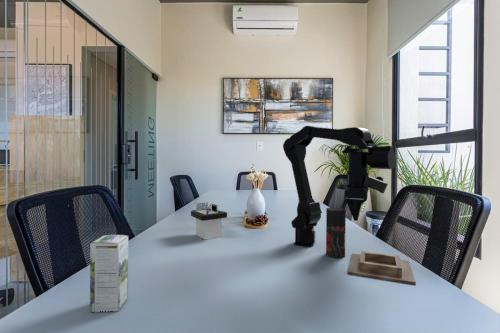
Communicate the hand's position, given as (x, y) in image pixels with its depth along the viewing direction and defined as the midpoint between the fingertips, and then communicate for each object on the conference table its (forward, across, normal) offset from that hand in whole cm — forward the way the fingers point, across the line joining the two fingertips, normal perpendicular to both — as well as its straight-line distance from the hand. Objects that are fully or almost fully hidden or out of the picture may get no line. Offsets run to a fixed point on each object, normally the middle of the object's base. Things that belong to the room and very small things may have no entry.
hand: (356, 217), depth 89 cm
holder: (+13, -6, -7) cm, 16 cm away
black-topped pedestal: (+14, +3, +56) cm, 58 cm away
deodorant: (+13, 0, +6) cm, 14 cm away
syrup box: (+13, -52, +46) cm, 71 cm away
